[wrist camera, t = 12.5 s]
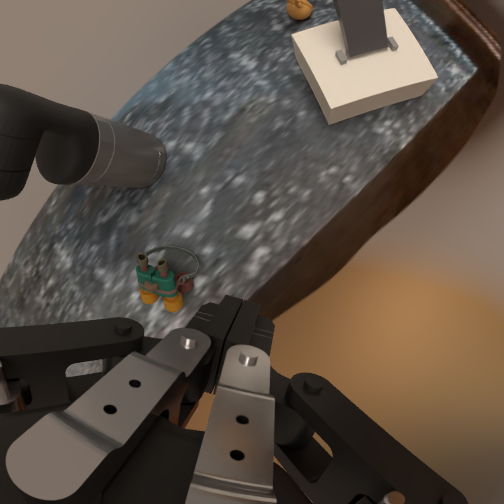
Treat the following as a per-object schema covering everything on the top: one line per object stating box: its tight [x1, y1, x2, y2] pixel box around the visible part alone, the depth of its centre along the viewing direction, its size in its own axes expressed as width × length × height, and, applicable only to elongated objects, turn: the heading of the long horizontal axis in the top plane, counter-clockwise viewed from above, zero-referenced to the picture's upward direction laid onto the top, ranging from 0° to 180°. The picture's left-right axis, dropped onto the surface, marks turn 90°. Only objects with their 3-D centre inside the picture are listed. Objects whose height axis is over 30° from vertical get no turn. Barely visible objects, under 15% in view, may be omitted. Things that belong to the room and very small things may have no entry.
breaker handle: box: [333, 0, 389, 58], centre depth 26 cm, size 2×6×12 cm, turn 112°
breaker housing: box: [291, 8, 438, 125], centre depth 35 cm, size 12×16×9 cm
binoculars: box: [136, 246, 199, 312], centre depth 45 cm, size 9×9×10 cm
